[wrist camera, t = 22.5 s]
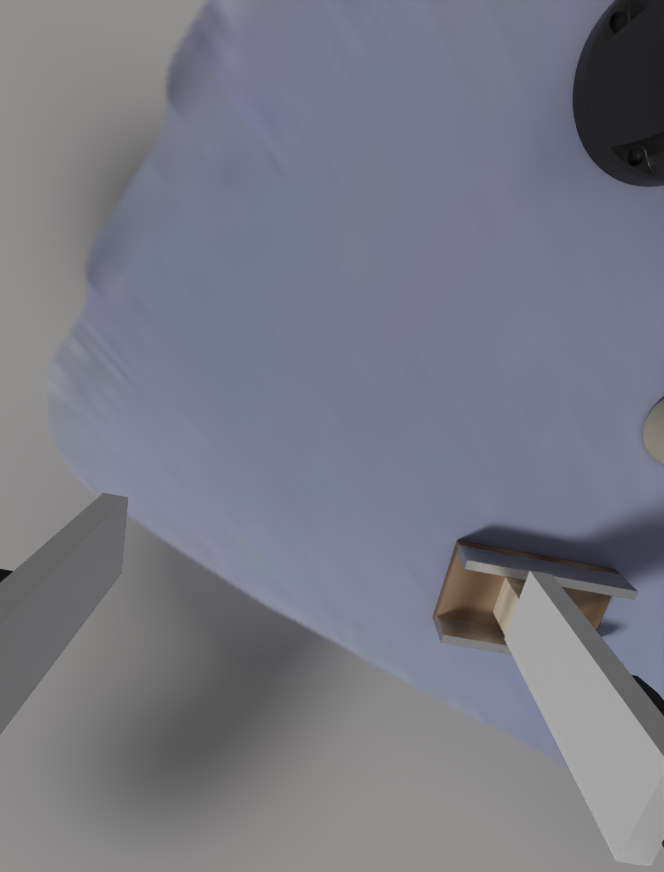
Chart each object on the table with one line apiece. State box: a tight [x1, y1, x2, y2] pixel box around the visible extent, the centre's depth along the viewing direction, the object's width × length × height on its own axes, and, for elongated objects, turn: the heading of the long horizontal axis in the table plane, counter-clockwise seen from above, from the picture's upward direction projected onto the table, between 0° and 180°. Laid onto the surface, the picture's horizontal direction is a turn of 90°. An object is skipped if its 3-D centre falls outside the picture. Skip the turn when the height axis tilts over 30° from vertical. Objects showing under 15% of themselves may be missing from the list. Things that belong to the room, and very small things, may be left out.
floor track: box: [433, 540, 638, 655], centre depth 50 cm, size 18×10×4 cm, turn 78°
